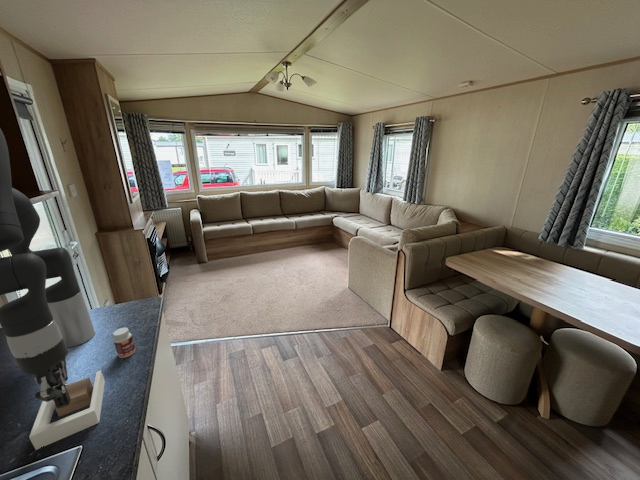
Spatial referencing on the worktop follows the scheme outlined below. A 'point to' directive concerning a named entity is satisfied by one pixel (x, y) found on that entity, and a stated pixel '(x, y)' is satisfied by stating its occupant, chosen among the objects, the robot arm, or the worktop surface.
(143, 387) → the worktop surface
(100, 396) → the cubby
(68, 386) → the walnut block
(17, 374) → the worktop surface
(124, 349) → the pill bottle
